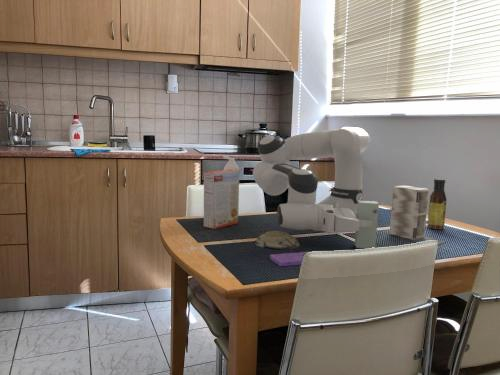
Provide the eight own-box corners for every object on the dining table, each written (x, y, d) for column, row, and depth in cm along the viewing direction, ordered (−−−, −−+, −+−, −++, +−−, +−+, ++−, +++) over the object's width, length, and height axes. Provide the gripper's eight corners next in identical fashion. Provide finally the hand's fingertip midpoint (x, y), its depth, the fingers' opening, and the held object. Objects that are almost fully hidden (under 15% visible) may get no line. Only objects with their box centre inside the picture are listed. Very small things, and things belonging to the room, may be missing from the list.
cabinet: (385, 235, 158) (389, 186, 156) (399, 231, 165) (404, 185, 162) (432, 246, 145) (437, 194, 142) (446, 242, 151) (451, 191, 149)
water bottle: (240, 217, 178) (242, 157, 175) (227, 219, 175) (229, 158, 171) (229, 213, 185) (230, 156, 182) (216, 215, 181) (217, 156, 178)
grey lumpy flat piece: (245, 242, 144) (273, 253, 132) (245, 231, 143) (274, 241, 131) (279, 237, 152) (309, 247, 140) (280, 226, 152) (309, 236, 140)
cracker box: (227, 221, 171) (228, 169, 168) (238, 223, 167) (240, 170, 164) (202, 226, 160) (203, 171, 157) (213, 229, 157) (215, 173, 154)
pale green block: (354, 244, 144) (357, 200, 142) (372, 245, 143) (376, 201, 141) (356, 248, 139) (360, 203, 137) (375, 249, 139) (379, 204, 136)
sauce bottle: (445, 230, 169) (450, 180, 166) (428, 229, 170) (433, 179, 167) (441, 227, 175) (446, 178, 172) (425, 225, 176) (430, 177, 173)
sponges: (319, 264, 123) (319, 258, 123) (279, 268, 119) (279, 261, 119) (307, 257, 130) (308, 251, 129) (269, 260, 125) (269, 254, 125)
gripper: (323, 220, 152) (362, 222, 151) (328, 234, 132) (374, 237, 131) (324, 202, 151) (364, 204, 150) (330, 214, 131) (376, 217, 130)
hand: (369, 220), depth 140 cm, fingers open, 8 cm apart
